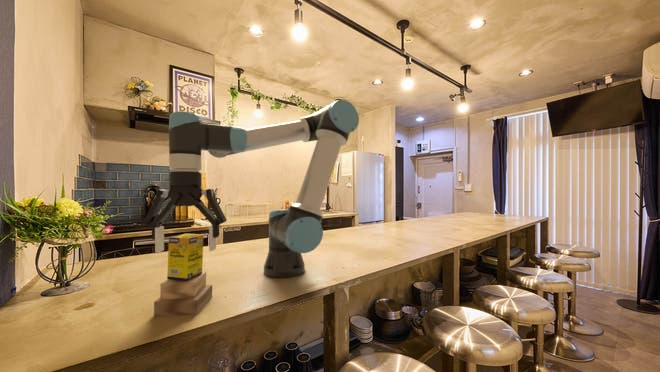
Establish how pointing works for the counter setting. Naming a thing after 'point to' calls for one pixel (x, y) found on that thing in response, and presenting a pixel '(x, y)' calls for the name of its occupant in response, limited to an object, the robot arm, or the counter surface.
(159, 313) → the walnut base block
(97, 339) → the counter surface
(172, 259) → the supplement box
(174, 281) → the oak block
